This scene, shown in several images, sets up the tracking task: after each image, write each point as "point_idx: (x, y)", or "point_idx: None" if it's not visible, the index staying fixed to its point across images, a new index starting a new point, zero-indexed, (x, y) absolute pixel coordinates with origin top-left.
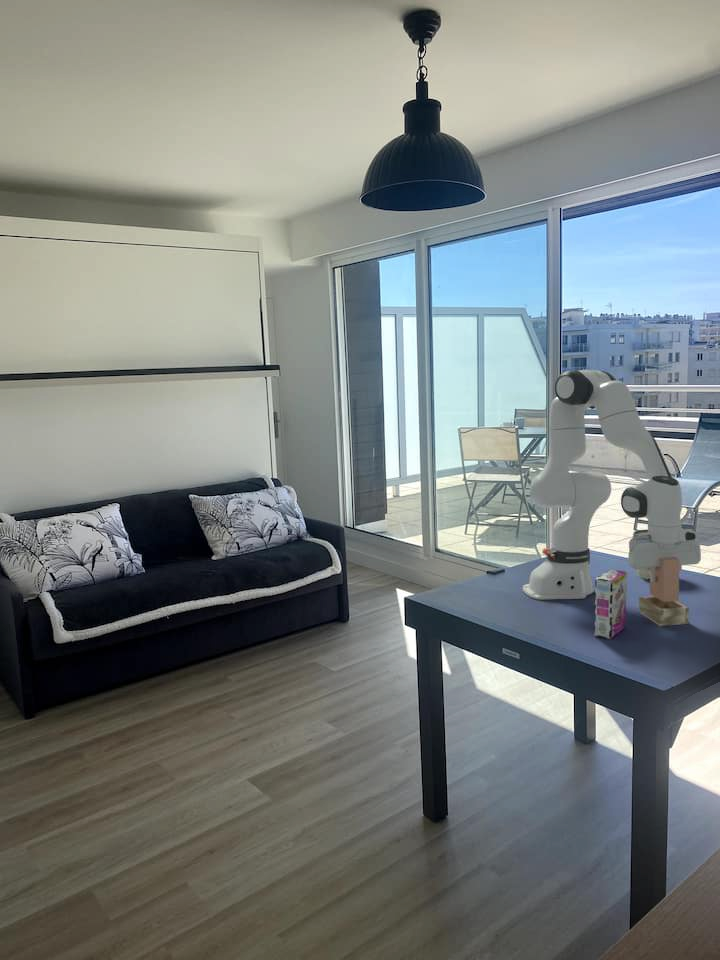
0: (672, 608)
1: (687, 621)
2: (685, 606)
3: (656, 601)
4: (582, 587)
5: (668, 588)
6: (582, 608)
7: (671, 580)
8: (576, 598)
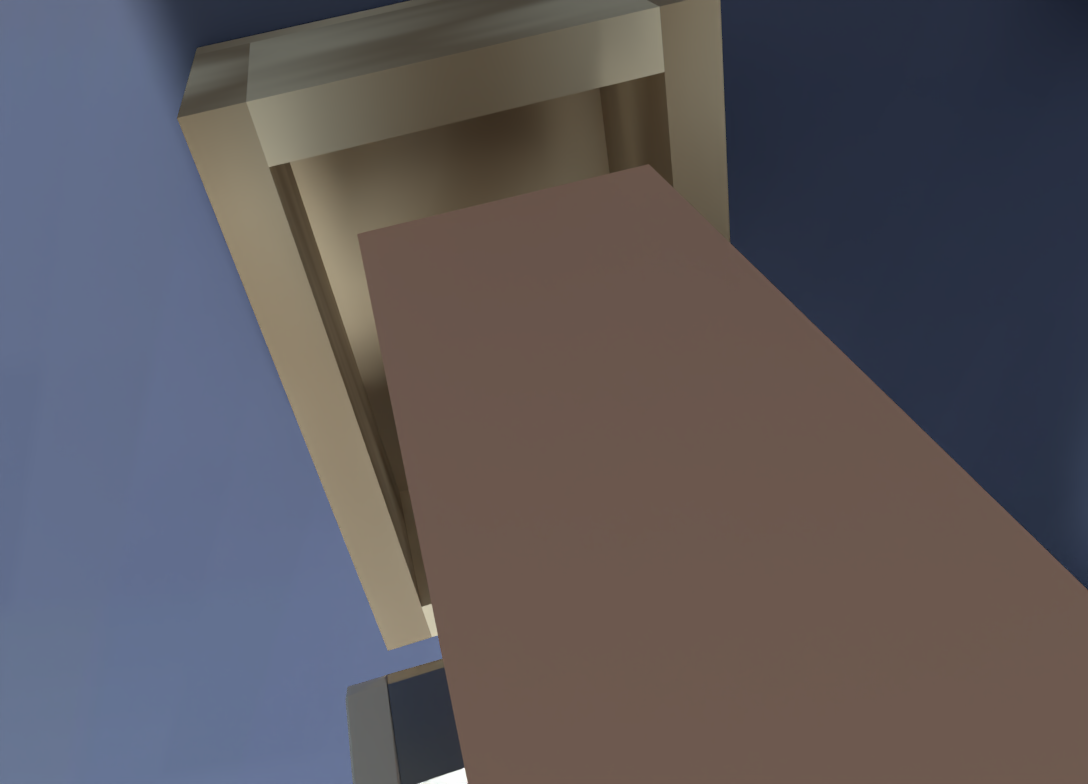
0: (482, 90)
1: (211, 52)
2: (224, 198)
3: None
4: None
5: (651, 302)
6: (1080, 483)
7: (652, 434)
8: None
